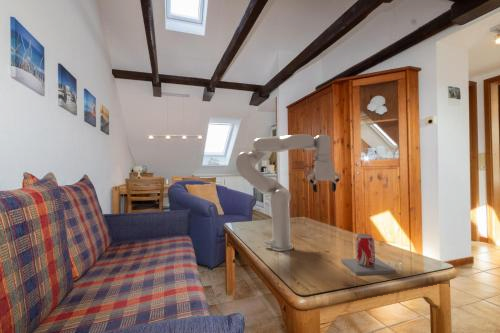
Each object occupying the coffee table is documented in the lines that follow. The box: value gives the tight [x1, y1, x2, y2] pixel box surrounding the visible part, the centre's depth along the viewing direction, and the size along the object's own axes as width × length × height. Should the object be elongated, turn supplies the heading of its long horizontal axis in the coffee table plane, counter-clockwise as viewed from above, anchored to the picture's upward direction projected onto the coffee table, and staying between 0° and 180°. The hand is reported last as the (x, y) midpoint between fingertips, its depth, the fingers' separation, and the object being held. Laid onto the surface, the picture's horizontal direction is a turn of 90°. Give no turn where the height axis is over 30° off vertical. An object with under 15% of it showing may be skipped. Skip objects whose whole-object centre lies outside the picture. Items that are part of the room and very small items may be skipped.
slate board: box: [341, 257, 397, 276], centre depth 103 cm, size 16×14×1 cm
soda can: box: [355, 233, 376, 266], centre depth 103 cm, size 7×7×12 cm
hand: (324, 191), depth 126 cm, fingers open, 9 cm apart
